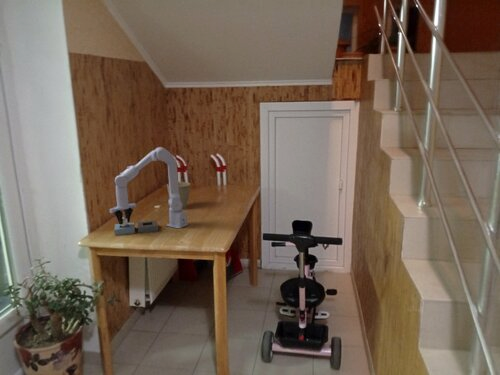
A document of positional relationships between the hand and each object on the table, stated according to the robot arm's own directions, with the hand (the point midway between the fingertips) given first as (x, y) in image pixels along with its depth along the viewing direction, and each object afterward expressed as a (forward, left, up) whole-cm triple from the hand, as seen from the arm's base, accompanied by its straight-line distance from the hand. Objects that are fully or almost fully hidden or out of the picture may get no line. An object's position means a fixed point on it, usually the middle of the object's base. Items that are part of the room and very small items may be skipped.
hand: (124, 223), depth 209 cm
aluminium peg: (0, 0, -4) cm, 4 cm away
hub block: (0, 0, -5) cm, 5 cm away
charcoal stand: (-8, -9, -5) cm, 13 cm away
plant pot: (+7, -50, -5) cm, 51 cm away
